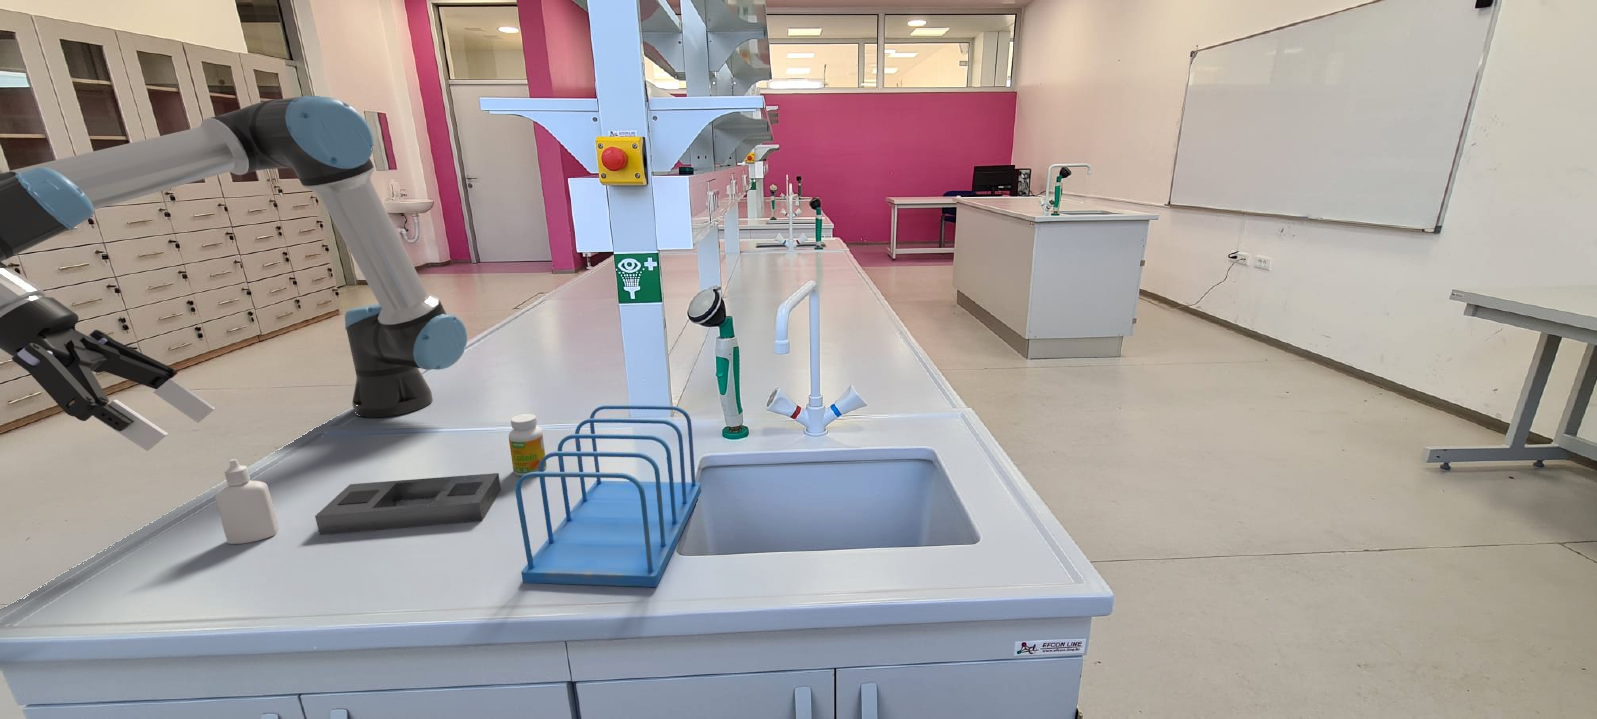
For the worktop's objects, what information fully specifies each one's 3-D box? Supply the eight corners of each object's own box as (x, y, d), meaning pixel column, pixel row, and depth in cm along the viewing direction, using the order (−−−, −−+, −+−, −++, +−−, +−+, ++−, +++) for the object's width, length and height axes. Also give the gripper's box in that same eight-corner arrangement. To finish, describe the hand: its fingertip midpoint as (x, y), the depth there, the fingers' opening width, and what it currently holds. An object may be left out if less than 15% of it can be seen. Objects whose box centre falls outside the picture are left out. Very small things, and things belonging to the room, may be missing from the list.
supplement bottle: (511, 478, 109) (503, 425, 107) (515, 465, 114) (508, 414, 112) (545, 474, 111) (538, 421, 108) (548, 461, 116) (541, 410, 113)
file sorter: (596, 490, 105) (587, 401, 101) (702, 493, 104) (696, 403, 100) (521, 584, 81) (505, 472, 77) (656, 589, 80) (647, 476, 76)
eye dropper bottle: (249, 528, 95) (228, 452, 91) (285, 529, 94) (265, 453, 91) (221, 544, 90) (198, 466, 87) (259, 546, 90) (237, 467, 87)
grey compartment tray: (354, 501, 102) (350, 483, 101) (501, 489, 106) (498, 472, 105) (319, 534, 93) (314, 515, 92) (482, 520, 96) (479, 502, 95)
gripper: (56, 324, 90) (203, 423, 98) (-103, 352, 67) (105, 479, 76) (103, 287, 91) (244, 389, 99) (-38, 303, 69) (159, 433, 77)
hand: (184, 428), depth 88 cm, fingers open, 13 cm apart
